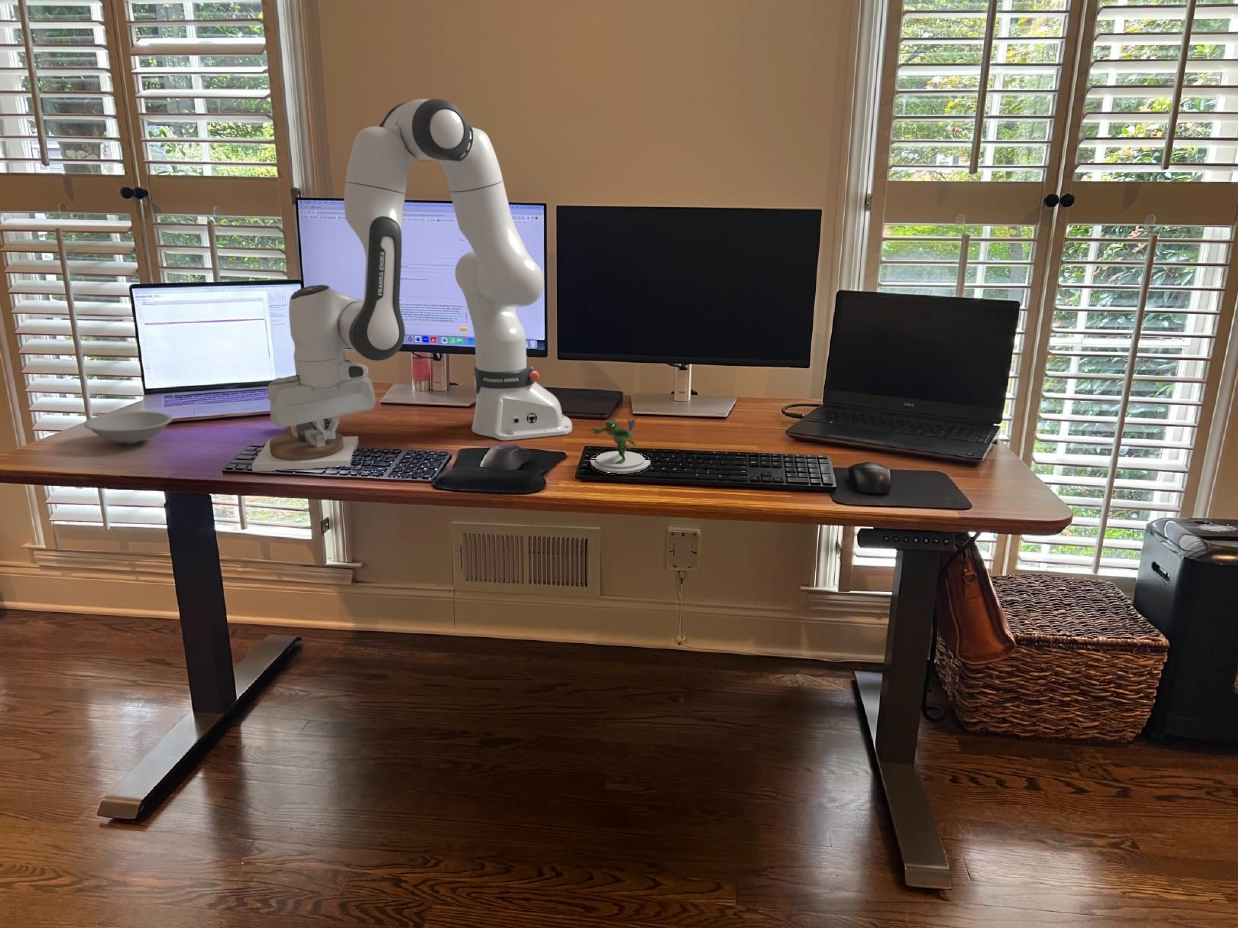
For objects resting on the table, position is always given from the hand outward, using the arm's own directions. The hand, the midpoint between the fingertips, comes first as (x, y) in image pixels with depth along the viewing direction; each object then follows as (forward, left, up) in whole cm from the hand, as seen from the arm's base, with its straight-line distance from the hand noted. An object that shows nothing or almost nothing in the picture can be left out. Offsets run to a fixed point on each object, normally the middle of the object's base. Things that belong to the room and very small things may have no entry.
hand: (328, 439), depth 175 cm
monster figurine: (-57, +10, -5) cm, 58 cm away
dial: (+5, -3, -3) cm, 6 cm away
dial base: (+5, -3, -5) cm, 7 cm away
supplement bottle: (+5, -23, -5) cm, 24 cm away
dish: (+43, -18, -5) cm, 46 cm away
